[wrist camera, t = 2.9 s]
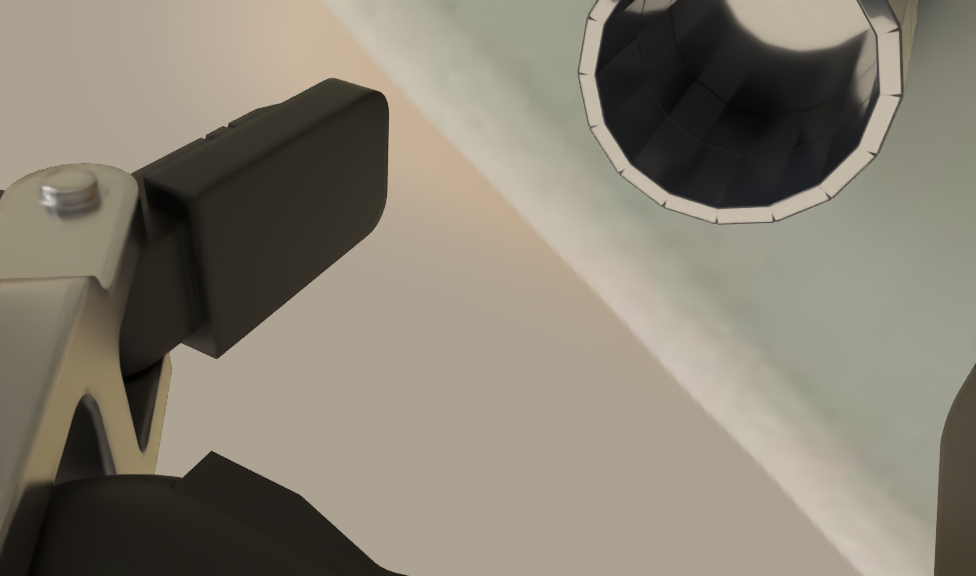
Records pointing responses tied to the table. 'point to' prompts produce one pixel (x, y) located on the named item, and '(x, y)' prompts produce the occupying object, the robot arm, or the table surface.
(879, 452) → the table surface
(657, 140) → the grey plastic cup
